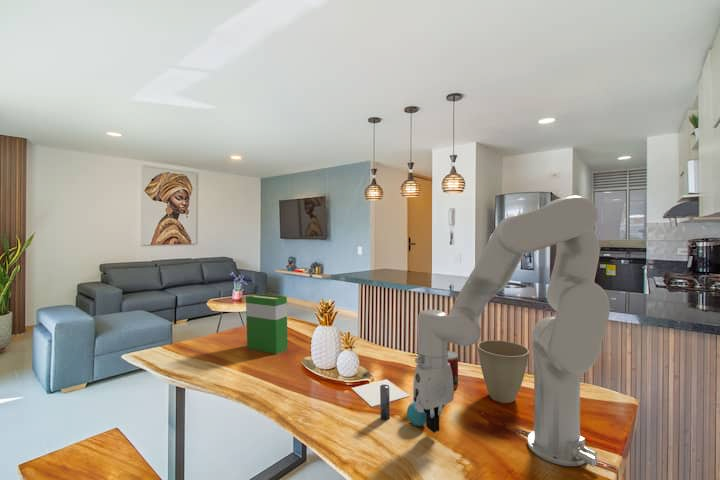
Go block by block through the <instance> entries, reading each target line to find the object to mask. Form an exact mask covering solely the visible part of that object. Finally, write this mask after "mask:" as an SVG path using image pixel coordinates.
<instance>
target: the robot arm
mask: <svg viewBox="0 0 720 480" xmlns="http://www.w3.org/2000/svg"><path fill="white" fill-rule="evenodd" d="M598 217H599V212H598V208H597V205H596V204H595V203H594V202H593V201H592V200H591V199H589V198H587V197H585V196H581V195H580V196H579V195H571V196H567V197H563V198H557V199H554V200H551V201H549V202H547V203H546V204H545V206H542V207H539V208H536V209H534V210H531V211H528V212H525V213H521V214H518V215H513V216H508V217H506V218H503V219H501V221H499V222H498V223H497V226H496V227H495V229H494V230H493V232H492V234H491V236H490V238H489V239H488V242H487V244H486V246H485V247H484V249H483V252H482V253H481V255H480V257H479V259H478V260H477V262H476V264H475V266H474V268H473V270H472V271H471V273H470V274H469V276H468V277H467V279H466V281H465V283H464V285H463V286H462V288H461V290H460V292H459V293H458V295H457V297H456V299H455V301H454V303H453V304H452V307H451V309H450V310H449V313H448V314H447V313H446V312H444V311H442V310H438V309H425V310H424V309H423V310H421V311H420V312H419V313H418V316H417V357H416V358H415V359H414V362H415V364H416V366H415V369H414V378H413V385H412V386H413V388H412V389H413V394H412V396H413V402H415V403H416V404H415V410H416V411H417V412H424V413H426V423H425V424H426V428H427V429H428V430H430V431H431V432H432V433H433V434H434V433H438V432H440V416H441V415H442V413H443V412H442V411H443V409H444V407H445V406H446V405H448V404H450V403H452V402H453V400H454V397H455V396H454V395H455V393H454V391H455V390H454V388H453V376H452V370H451V366H450V363H448V351H449V350H448V349H449V343H450V344H454V345H458V346H462V347H463V346H471V345H475V344H476V343H477V342H478V341H479V340H480V338H481V334H482V331H481V326H480V323H479V321H478V320H479V318H480V317H481V315H482V313H483V311H484V309H485V307H486V306H487V304H489V302H490V300H491V299H492V298H493V297H494V296H495V295H496V294H498V293H499V292H501V291H502V290H504V289H505V288H506V287H507V286H508V284H509V283H510V281H511V279H512V277H513V276H514V273H515V271H516V269H517V267H518V265H519V264H520V262H521V260H522V258H523V257H524V255H525V254H527V253H532V252H536V251H539V250H542V249H545V248H548V247H551V246H554V245H556V254H555V259H554V265H553V268H552V272H551V274H550V275H551V276H550V279H549V283H548V287H547V290H546V300H547V303H548V305H549V306H550V307H551V308H552V309H553V310H554V311H556V314H555V316H547V317H544V318H541V319H540V320H539V321H537V322H536V324H535V325H534V326H533V329H532V332H531V333H532V334H531V346H532V347H531V348H532V355H533V364H534V365H533V370H534V371H533V372H534V377H533V378H534V382H533V384H534V385H533V387H534V390H533V394H534V397H533V399H534V400H533V401H534V402H533V403H534V404H533V405H534V409H533V410H534V414H533V416H534V417H533V418H534V420H533V421H534V422H533V423H534V424H533V425H534V428H533V431H532V432H529V434H528V436H527V445H528V448H529V449H530V450H531V451H532V452H533V453H534V454H535V455H536V456H538V457H539V458H541V459H543V460H545V461H547V462H550V463H553V464H556V465H559V466H565V467H577V466H578V467H579V466H581V465H584V464H585V463H586V464H588V465H590V466H592V467H595V466H596V465H597V463H598V458H597V455H598V453H597V452H596V451H595V450H593V449H591V448H588V447H587V445H585V444H586V439H585V437H583V436H581V374H584V373H587V372H588V371H589V370H591V369H592V367H593V366H594V365H595V363H596V361H597V359H598V356H599V353H600V350H601V347H602V343H603V340H604V336H605V332H606V329H607V325H608V321H609V317H610V311H611V307H610V306H611V305H610V299H609V296H608V294H607V292H606V291H605V290H604V288H603V287H602V286H601V285H599V284H598V283H596V282H595V280H596V279H595V278H596V274H597V269H598V265H599V259H600V253H601V252H600V244H599V243H600V242H599V239H598V236H597V234H596V232H595V230H594V227H595V225H596V224H597V222H598Z"/></svg>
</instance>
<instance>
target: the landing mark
mask: <svg viewBox="0 0 720 480" xmlns="http://www.w3.org/2000/svg"><path fill="white" fill-rule="evenodd" d="M384 384H385V385H389V399H390V403H391V402H395V401H397V400H398V401H399V400H400V399H401V400H402V399H404V398H408V397H411V395H410V394H408V393H407V392H406V391H404V390H403V389H402V388H400V387H399V386H397V385H396V384H394V383H393V382H391V381H390V380H388V379H382V380H378V381H374V382H371V383H370V382H369V383H366V384H362V385H359V386H355V387H354V386H353V387H351V390H352V391H353V392H355V394H357V395H358V396H359V397H360V398H361V399H362V400H363V401H364V402H365V403H366V404H368V405H369V406H370V407H371V408H373V407H377V406H380V386H381V385H384Z"/></svg>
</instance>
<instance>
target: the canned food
mask: <svg viewBox="0 0 720 480" xmlns="http://www.w3.org/2000/svg"><path fill="white" fill-rule="evenodd" d="M448 363H450V366H451V370H452V376H453V388H454V391H456V389H457V388H458V386H459V355H458V353H456V352H455V351H452V350H448Z"/></svg>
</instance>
